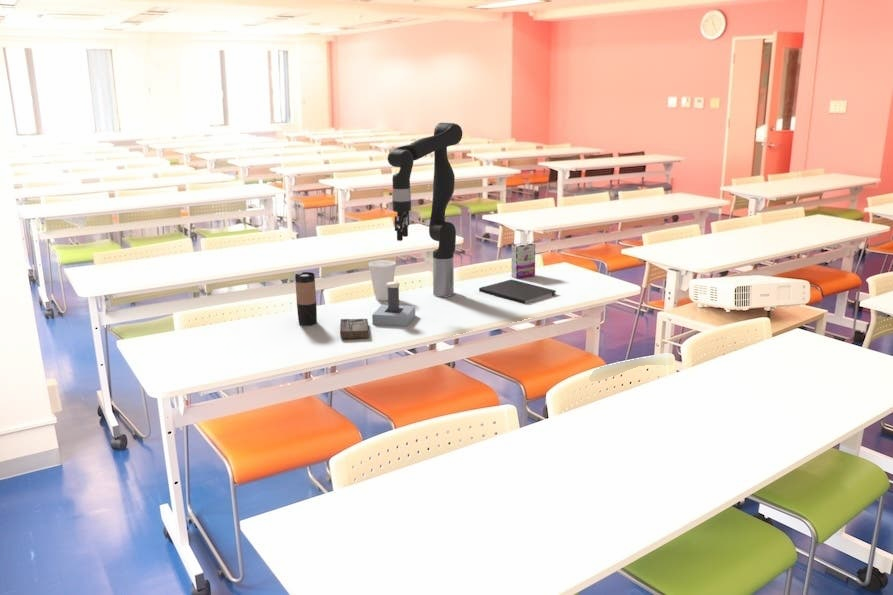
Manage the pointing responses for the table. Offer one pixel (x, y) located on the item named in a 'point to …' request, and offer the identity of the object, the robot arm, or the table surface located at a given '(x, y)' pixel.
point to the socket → (393, 316)
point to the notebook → (517, 291)
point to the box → (354, 328)
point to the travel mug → (306, 298)
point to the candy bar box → (523, 260)
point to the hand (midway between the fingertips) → (402, 238)
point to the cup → (382, 277)
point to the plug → (393, 297)
